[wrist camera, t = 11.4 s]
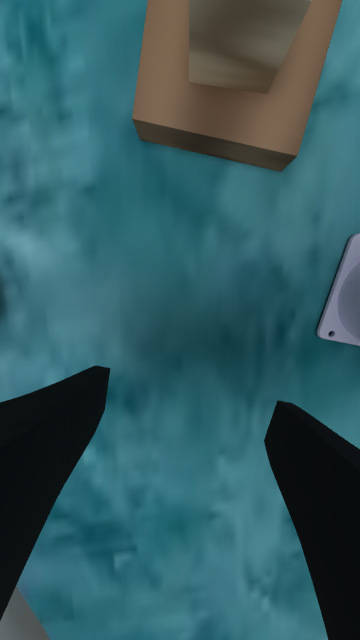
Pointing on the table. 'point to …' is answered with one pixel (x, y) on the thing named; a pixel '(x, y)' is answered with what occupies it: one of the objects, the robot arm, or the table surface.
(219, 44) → the maple block
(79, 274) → the table surface
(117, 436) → the table surface
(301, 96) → the walnut block
